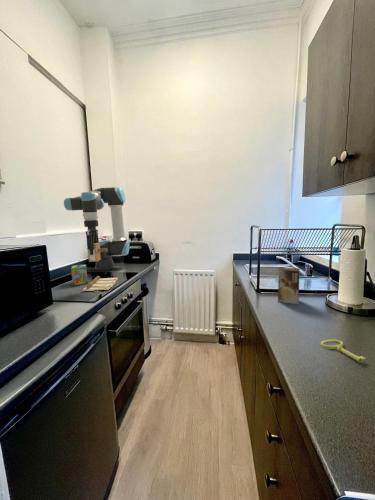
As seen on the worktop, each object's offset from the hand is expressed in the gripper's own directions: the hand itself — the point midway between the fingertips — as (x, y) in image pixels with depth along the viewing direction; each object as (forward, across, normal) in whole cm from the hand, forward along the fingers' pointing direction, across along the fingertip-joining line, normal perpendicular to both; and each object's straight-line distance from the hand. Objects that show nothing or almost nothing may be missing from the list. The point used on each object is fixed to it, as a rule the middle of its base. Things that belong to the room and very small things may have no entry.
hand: (94, 259), depth 133 cm
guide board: (+18, -6, 0) cm, 19 cm away
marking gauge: (+1, 0, +2) cm, 3 cm away
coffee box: (+19, +35, +101) cm, 108 cm away
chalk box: (+19, -14, -16) cm, 28 cm away
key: (+19, +74, +97) cm, 124 cm away
